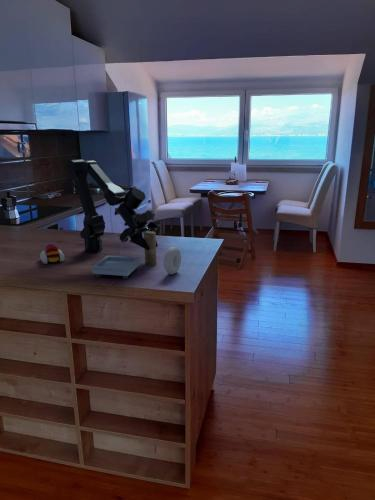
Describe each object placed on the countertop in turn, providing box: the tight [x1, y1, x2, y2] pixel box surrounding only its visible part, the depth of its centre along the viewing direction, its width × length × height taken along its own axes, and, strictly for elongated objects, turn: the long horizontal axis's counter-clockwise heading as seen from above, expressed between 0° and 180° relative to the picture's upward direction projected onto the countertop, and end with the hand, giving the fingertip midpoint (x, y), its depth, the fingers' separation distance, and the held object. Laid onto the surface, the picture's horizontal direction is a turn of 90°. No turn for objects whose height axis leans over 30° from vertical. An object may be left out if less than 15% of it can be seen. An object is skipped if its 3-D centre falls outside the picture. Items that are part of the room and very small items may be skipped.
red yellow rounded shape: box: [39, 243, 65, 265], centre depth 153 cm, size 8×10×7 cm
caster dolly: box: [91, 255, 141, 280], centre depth 140 cm, size 13×13×4 cm
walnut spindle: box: [143, 231, 158, 267], centre depth 148 cm, size 4×4×12 cm
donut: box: [163, 246, 182, 275], centre depth 138 cm, size 10×4×10 cm, turn 156°
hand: (153, 248), depth 147 cm, fingers closed on walnut spindle, 4 cm apart
